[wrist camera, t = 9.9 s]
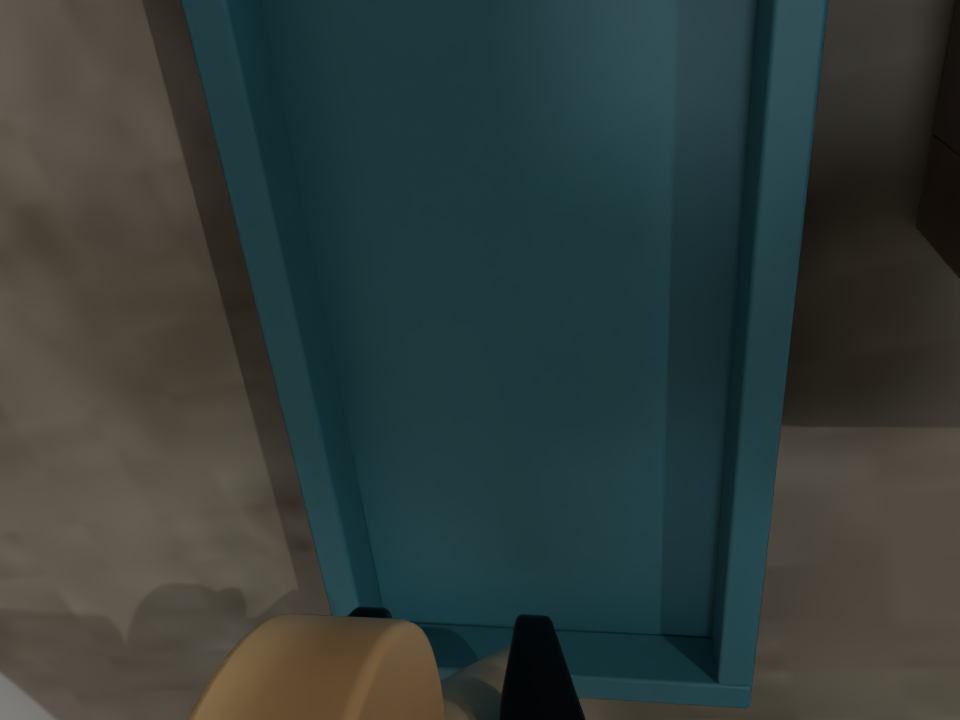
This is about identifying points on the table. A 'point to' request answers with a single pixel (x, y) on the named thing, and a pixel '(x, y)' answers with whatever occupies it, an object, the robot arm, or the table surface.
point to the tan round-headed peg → (346, 674)
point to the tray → (529, 308)
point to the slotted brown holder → (945, 163)
